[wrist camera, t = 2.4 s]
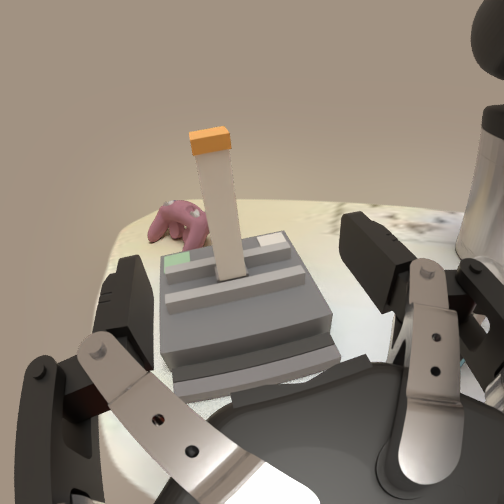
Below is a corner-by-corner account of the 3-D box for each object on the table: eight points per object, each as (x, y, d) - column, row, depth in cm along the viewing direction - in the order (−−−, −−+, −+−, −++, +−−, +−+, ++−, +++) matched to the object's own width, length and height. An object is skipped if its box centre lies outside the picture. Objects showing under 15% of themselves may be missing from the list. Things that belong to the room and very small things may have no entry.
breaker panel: (284, 250, 38) (283, 219, 35) (329, 334, 27) (334, 301, 24) (167, 275, 36) (157, 245, 33) (170, 371, 25) (154, 342, 22)
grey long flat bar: (327, 340, 26) (328, 331, 25) (339, 365, 24) (341, 356, 23) (176, 376, 24) (171, 368, 23) (179, 404, 22) (174, 397, 21)
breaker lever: (244, 268, 31) (225, 125, 22) (250, 286, 28) (230, 132, 20) (215, 274, 30) (187, 132, 22) (219, 292, 28) (188, 140, 19)
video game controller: (211, 260, 40) (220, 209, 38) (185, 264, 36) (193, 209, 35) (168, 239, 46) (175, 195, 44) (144, 241, 42) (150, 194, 40)
